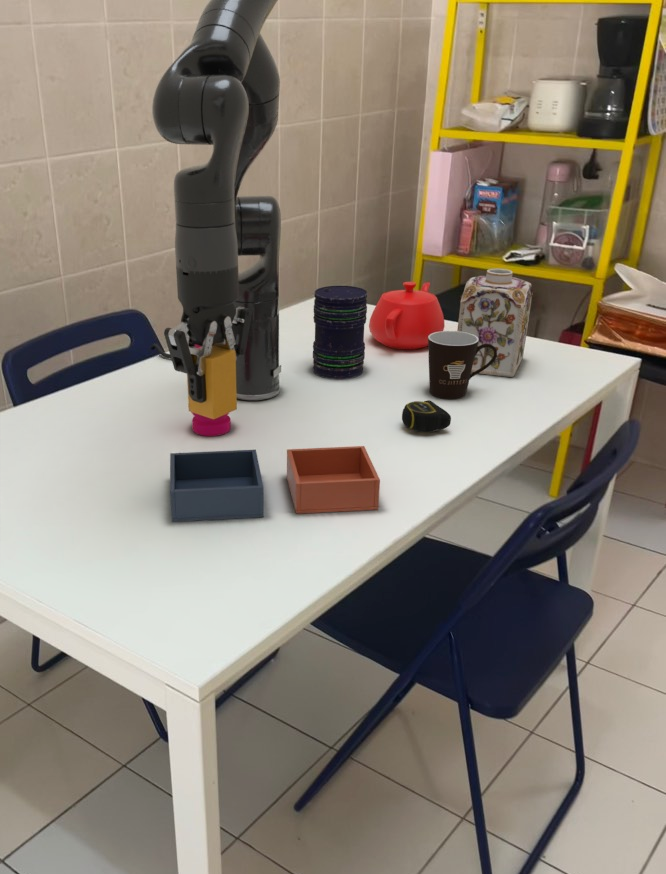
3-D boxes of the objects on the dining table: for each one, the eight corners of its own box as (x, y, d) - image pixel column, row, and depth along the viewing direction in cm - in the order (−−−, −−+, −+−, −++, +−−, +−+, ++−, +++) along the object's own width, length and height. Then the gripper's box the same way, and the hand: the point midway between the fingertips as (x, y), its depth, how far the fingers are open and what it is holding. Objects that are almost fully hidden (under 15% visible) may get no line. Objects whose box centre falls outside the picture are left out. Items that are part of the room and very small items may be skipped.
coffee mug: (418, 397, 155) (423, 342, 150) (429, 382, 162) (434, 328, 157) (484, 406, 151) (492, 349, 146) (493, 390, 158) (500, 335, 153)
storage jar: (372, 367, 169) (377, 289, 162) (349, 382, 162) (352, 301, 154) (327, 359, 174) (329, 283, 166) (302, 373, 166) (303, 294, 159)
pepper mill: (241, 424, 145) (238, 303, 135) (221, 440, 139) (217, 315, 129) (202, 418, 148) (197, 298, 138) (181, 433, 142) (174, 310, 132)
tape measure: (451, 433, 141) (453, 411, 139) (412, 438, 139) (414, 416, 137) (431, 418, 146) (433, 397, 145) (394, 423, 145) (395, 401, 143)
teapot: (424, 363, 171) (429, 300, 165) (349, 352, 177) (352, 292, 171) (459, 329, 190) (465, 272, 184) (391, 321, 196) (395, 265, 190)
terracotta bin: (295, 513, 118) (296, 483, 115) (286, 477, 127) (286, 449, 125) (378, 509, 118) (380, 479, 116) (362, 474, 128) (364, 445, 126)
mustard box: (213, 419, 113) (211, 359, 109) (188, 411, 115) (185, 352, 111) (237, 409, 116) (235, 350, 111) (212, 401, 118) (209, 343, 114)
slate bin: (172, 521, 116) (169, 491, 114) (172, 481, 126) (170, 453, 124) (263, 517, 117) (263, 487, 115) (256, 477, 127) (255, 449, 125)
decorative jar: (451, 371, 167) (461, 275, 158) (463, 353, 176) (473, 261, 167) (515, 378, 163) (529, 280, 154) (524, 360, 172) (538, 266, 163)
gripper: (224, 247, 112) (227, 374, 121) (142, 268, 103) (152, 404, 112) (268, 255, 108) (269, 386, 117) (187, 277, 99) (194, 418, 107)
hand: (212, 394), depth 114 cm, fingers closed on mustard box, 4 cm apart
